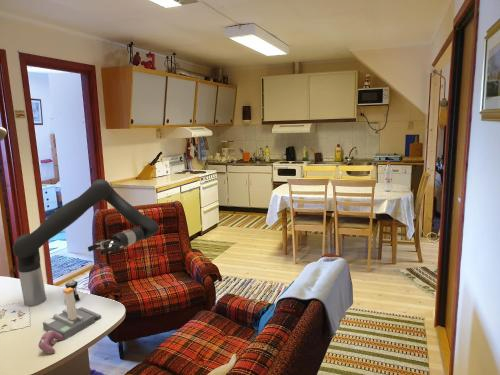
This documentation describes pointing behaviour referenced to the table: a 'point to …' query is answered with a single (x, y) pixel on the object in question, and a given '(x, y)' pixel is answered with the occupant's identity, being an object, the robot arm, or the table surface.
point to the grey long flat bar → (91, 313)
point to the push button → (73, 285)
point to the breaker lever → (70, 304)
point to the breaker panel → (68, 323)
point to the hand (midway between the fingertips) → (94, 251)
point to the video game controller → (49, 341)
